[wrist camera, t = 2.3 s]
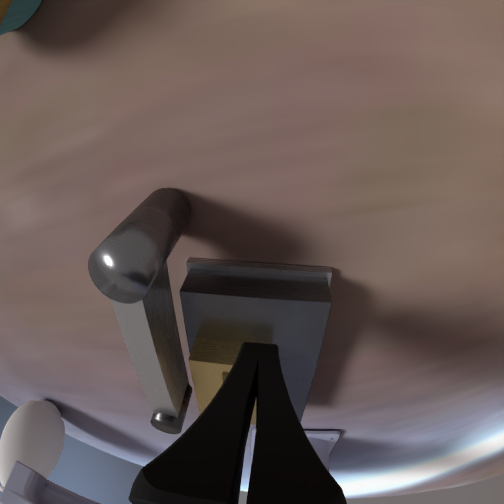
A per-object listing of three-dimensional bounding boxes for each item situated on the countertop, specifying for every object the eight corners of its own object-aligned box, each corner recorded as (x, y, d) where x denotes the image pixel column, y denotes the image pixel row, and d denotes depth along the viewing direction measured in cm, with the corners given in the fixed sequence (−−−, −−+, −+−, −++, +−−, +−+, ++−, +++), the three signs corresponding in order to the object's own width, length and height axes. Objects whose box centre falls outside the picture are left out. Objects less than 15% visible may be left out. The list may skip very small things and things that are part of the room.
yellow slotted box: (266, 404, 19) (264, 426, 17) (205, 398, 19) (200, 419, 17) (272, 344, 16) (270, 370, 14) (195, 337, 16) (187, 361, 14)
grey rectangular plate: (301, 402, 22) (301, 428, 20) (207, 393, 23) (200, 419, 21) (331, 267, 16) (337, 297, 14) (188, 257, 16) (174, 285, 14)
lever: (207, 364, 20) (188, 437, 16) (173, 360, 21) (149, 429, 16) (189, 188, 14) (139, 251, 9) (143, 188, 14) (78, 246, 9)
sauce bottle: (77, 409, 29) (26, 530, 14) (76, 427, 33) (35, 529, 18) (24, 376, 28) (-35, 488, 12) (30, 399, 32) (-18, 495, 16)
